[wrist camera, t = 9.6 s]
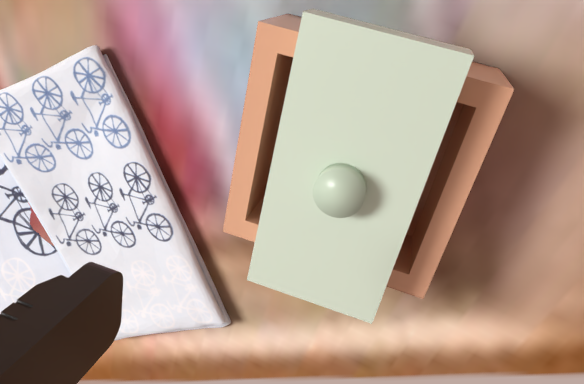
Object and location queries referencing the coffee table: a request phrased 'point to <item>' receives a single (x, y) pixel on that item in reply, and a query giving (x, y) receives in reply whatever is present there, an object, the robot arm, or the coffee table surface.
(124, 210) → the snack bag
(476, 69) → the salmon open box
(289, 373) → the coffee table surface
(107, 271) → the robot arm
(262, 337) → the coffee table surface
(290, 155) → the lid
